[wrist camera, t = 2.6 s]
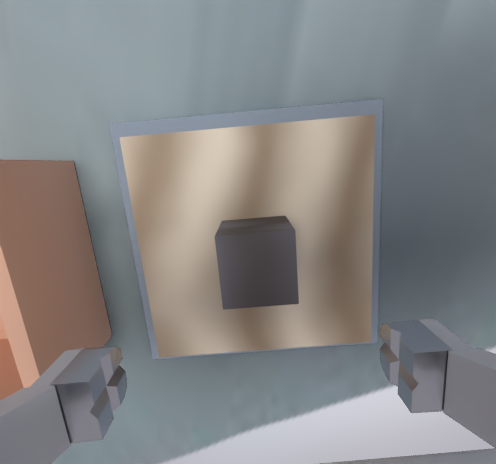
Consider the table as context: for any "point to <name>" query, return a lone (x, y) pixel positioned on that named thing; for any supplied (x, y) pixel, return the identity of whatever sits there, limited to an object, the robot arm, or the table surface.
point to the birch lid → (256, 234)
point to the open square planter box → (45, 272)
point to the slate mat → (247, 120)
